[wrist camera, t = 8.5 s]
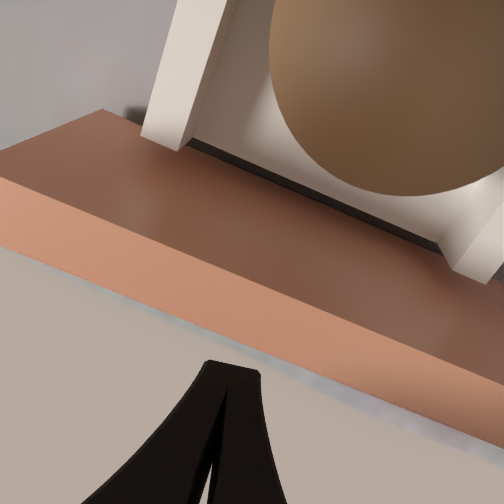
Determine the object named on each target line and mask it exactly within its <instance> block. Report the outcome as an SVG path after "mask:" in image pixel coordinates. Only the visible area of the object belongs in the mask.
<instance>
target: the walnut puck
mask: <svg viewBox="0 0 504 504" xmlns="http://www.w3.org/2000/svg"><path fill="white" fill-rule="evenodd" d="M269 64H270V73H271V79H272V85H273V90H274V93H275V97H276V100H277V104H278V107H279V109H280V112H281V114H282V116H283V118H284V121H285V123H286V125H287V127H288V128H289V130H290V131H291V133H292V135H293V136H294V138H295V140H296V141H297V142H298V143H299V145H300V146H301V147H302V148H303V150H304V151H305V152H306V153H307V154H308V155H309V156H310V157H311V158H312V159H313V160H314V161H315V162H316V163H317V164H318V165H319V166H320V167H322V168H323V169H325V170H326V171H327V172H329V173H330V174H331V175H333V176H334V177H336V178H338V179H340V180H342V181H344V182H346V183H348V184H349V185H352V186H355V187H357V188H360V189H363V190H365V191H370V192H374V193H378V194H382V195H391V196H424V195H432V194H438V193H442V192H446V191H450V190H454V189H458V188H460V187H463V186H466V185H468V184H471V183H474V182H476V181H478V180H480V179H482V178H484V177H486V176H488V175H490V174H492V173H494V172H496V171H497V170H499V169H500V168H502V167H503V166H504V0H276V1H275V5H274V10H273V15H272V20H271V25H270V38H269Z"/></svg>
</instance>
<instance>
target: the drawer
mask: <svg viewBox="0 0 504 504" xmlns="http://www.w3.org/2000/svg"><path fill="white" fill-rule="evenodd" d="M275 1H276V0H178V2H177V5H176V9H175V13H174V16H173V20H172V23H171V27H170V30H169V34H168V38H167V41H166V45H165V48H164V52H163V55H162V59H161V62H160V66H159V70H158V73H157V77H156V80H155V84H154V87H153V91H152V95H151V98H150V102H149V105H148V109H147V112H146V116H145V120H144V123H143V126H141V125H139V124H136V123H134V122H132V121H129V120H127V119H125V118H122V117H120V116H118V115H115V114H113V113H111V112H109V111H106V110H104V109H101V110H98V111H96V112H93V113H91V114H88V115H86V116H84V117H81V118H79V119H76V120H74V121H71V122H69V123H67V124H64V125H62V126H59V127H57V128H55V129H52V130H50V131H47V132H45V133H42V134H40V135H38V136H35V137H33V138H30V139H28V140H25V141H23V142H21V143H18V144H16V145H13V146H11V147H8V148H6V149H4V150H1V151H0V246H2V247H5V248H7V249H10V250H12V251H15V252H17V253H20V254H22V255H25V256H27V257H30V258H32V259H35V260H37V261H40V262H42V263H45V264H47V265H50V266H52V267H54V268H57V269H59V270H62V271H64V272H67V273H69V274H72V275H74V276H77V277H79V278H82V279H84V280H87V281H89V282H92V283H94V284H97V285H99V286H102V287H104V288H107V289H109V290H112V291H114V292H116V293H119V294H121V295H124V296H126V297H129V298H131V299H134V300H136V301H139V302H141V303H144V304H146V305H149V306H151V307H154V308H156V309H159V310H161V311H164V312H166V313H169V314H171V315H174V316H176V317H178V318H181V319H183V320H186V321H188V322H191V323H193V324H196V325H198V326H201V327H203V328H206V329H208V330H211V331H213V332H216V333H218V334H221V335H223V336H226V337H228V338H231V339H233V340H236V341H238V342H240V343H243V344H245V345H248V346H250V347H253V348H255V349H258V350H260V351H263V352H265V353H268V354H270V355H273V356H275V357H278V358H280V359H283V360H285V361H288V362H290V363H293V364H295V365H298V366H300V367H302V368H305V369H307V370H310V371H312V372H315V373H317V374H320V375H322V376H325V377H327V378H330V379H332V380H335V381H337V382H340V383H342V384H345V385H347V386H350V387H352V388H355V389H357V390H360V391H362V392H364V393H367V394H369V395H372V396H374V397H377V398H379V399H382V400H384V401H387V402H389V403H392V404H394V405H397V406H399V407H402V408H404V409H407V410H409V411H412V412H414V413H417V414H419V415H422V416H424V417H426V418H429V419H431V420H434V421H436V422H439V423H441V424H444V425H446V426H449V427H451V428H454V429H456V430H459V431H461V432H464V433H466V434H469V435H471V436H474V437H476V438H479V439H481V440H484V441H486V442H489V443H491V444H493V445H496V446H498V447H501V448H503V449H504V285H503V284H502V282H501V281H499V280H497V279H494V278H492V276H493V275H494V274H495V272H496V271H497V270H498V269H499V267H500V266H501V265H502V264H503V262H504V166H503V167H502V168H500V169H499V170H497V171H496V172H494V173H492V174H490V175H488V176H486V177H484V178H482V179H480V180H478V181H476V182H474V183H471V184H468V185H466V186H463V187H460V188H458V189H454V190H450V191H446V192H442V193H438V194H432V195H424V196H391V195H382V194H378V193H374V192H370V191H365V190H363V189H360V188H357V187H355V186H352V185H349V184H348V183H346V182H344V181H342V180H340V179H338V178H336V177H334V176H333V175H331V174H330V173H329V172H327V171H326V170H325V169H323V168H322V167H320V166H319V165H318V164H317V163H316V162H315V161H314V160H313V159H312V158H311V157H310V156H309V155H308V154H307V153H306V152H305V151H304V150H303V148H302V147H301V146H300V145H299V143H298V142H297V141H296V140H295V138H294V136H293V135H292V133H291V131H290V130H289V128H288V127H287V125H286V123H285V121H284V118H283V116H282V114H281V112H280V109H279V107H278V104H277V100H276V97H275V93H274V90H273V85H272V79H271V73H270V64H269V38H270V25H271V20H272V15H273V10H274V5H275ZM192 137H193V138H196V139H198V140H200V141H203V142H205V143H207V144H210V145H212V146H214V147H216V148H219V149H221V150H223V151H226V152H228V153H230V154H233V155H235V156H237V157H239V158H242V159H244V160H246V161H249V162H251V163H253V164H256V165H258V166H260V167H262V168H265V169H267V170H269V171H272V172H274V173H276V174H279V175H281V176H283V177H285V178H288V179H290V180H292V181H295V182H297V183H299V184H302V185H304V186H306V187H308V188H311V189H313V190H315V191H318V192H320V193H322V194H325V195H327V196H329V197H331V198H334V199H336V200H338V201H341V202H343V203H345V204H348V205H350V206H352V207H354V208H357V209H359V210H361V211H364V212H366V213H368V214H371V215H373V216H375V217H377V218H380V219H382V220H384V221H387V222H389V223H391V224H394V225H396V226H398V227H400V228H403V229H405V230H407V231H410V232H412V233H414V234H417V235H419V236H421V237H423V238H426V239H428V240H430V241H433V242H435V243H437V244H438V246H439V248H440V250H441V251H442V253H443V255H444V257H443V256H441V255H439V254H436V253H434V252H432V251H430V250H427V249H425V248H423V247H420V246H418V245H416V244H413V243H411V242H409V241H406V240H404V239H402V238H400V237H397V236H395V235H393V234H390V233H388V232H386V231H383V230H381V229H379V228H376V227H374V226H372V225H369V224H367V223H365V222H363V221H360V220H358V219H356V218H353V217H351V216H349V215H346V214H344V213H342V212H339V211H337V210H335V209H333V208H330V207H328V206H326V205H323V204H321V203H319V202H316V201H314V200H312V199H309V198H307V197H305V196H303V195H300V194H298V193H296V192H293V191H291V190H289V189H286V188H284V187H282V186H279V185H277V184H275V183H273V182H270V181H268V180H266V179H263V178H261V177H259V176H256V175H254V174H252V173H249V172H247V171H245V170H242V169H240V168H238V167H236V166H233V165H231V164H229V163H226V162H224V161H222V160H219V159H217V158H215V157H212V156H210V155H208V154H206V153H203V152H201V151H199V150H196V149H194V148H192V147H189V146H187V145H185V144H186V143H187V142H188V141H189V140H190V139H191V138H192Z"/></svg>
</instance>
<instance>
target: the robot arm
mask: <svg viewBox="0 0 504 504" xmlns="http://www.w3.org/2000/svg"><path fill="white" fill-rule="evenodd" d="M212 462H213V463H212ZM211 465H212V470H211V478H210V485H209V492H208V500H207V504H287V502H286V499H285V496H284V493H283V490H282V486H281V483H280V480H279V476H278V473H277V469H276V466H275V462H274V458H273V454H272V450H271V446H270V441H269V437H268V433H267V428H266V423H265V417H264V411H263V404H262V396H261V374H260V373H259V372H258V370H254V369H250V368H245V367H241V366H236V365H232V364H227V363H223V362H218V361H213V360H208V361H206V362H204V364H203V366H202V368H201V370H200V371H199V373H198V375H197V376H196V378H195V380H194V381H193V383H192V384H191V386H190V387H189V389H188V390H187V391H186V393H185V394H184V396H183V397H182V398H181V400H180V401H179V402H178V404H177V405H176V406H175V407H174V409H173V410H172V411H171V413H170V414H169V415H168V416H167V417H166V419H165V420H164V421H163V423H162V424H161V425H160V426H159V427H158V428H157V429H156V430H155V431H154V433H153V434H152V435H151V436H150V437H149V438H148V439H147V441H146V442H145V443H144V444H143V445H142V446H141V447H140V448H139V449H138V451H136V453H135V454H134V455H133V456H132V457H131V458H130V459H129V460H128V461H127V462H126V463H125V464H124V465H123V466H122V467H121V468H120V469H119V470H118V471H117V472H116V473H114V474H113V475H112V476H111V477H110V479H108V480H107V481H106V482H105V483H104V484H103V485H102V486H100V487H99V488H98V489H97V490H96V491H95V492H94V493H93V494H92V495H91V496H89V497H88V498H87V499H86V500H85V501H84V502H82V503H81V504H199V503H200V500H201V497H202V493H203V490H204V487H205V484H206V481H207V478H208V475H209V472H210V468H211Z"/></svg>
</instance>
